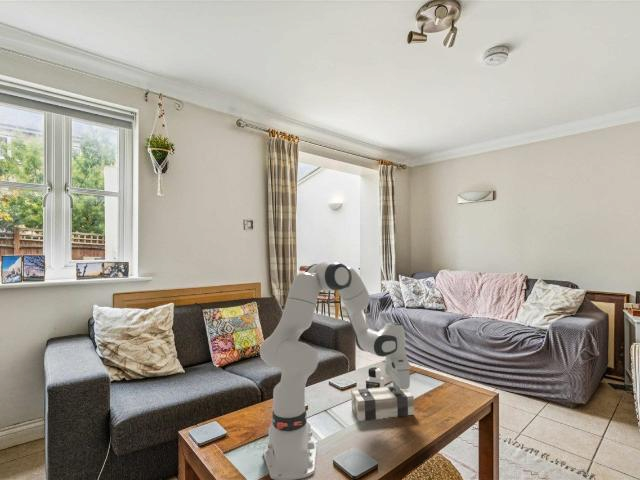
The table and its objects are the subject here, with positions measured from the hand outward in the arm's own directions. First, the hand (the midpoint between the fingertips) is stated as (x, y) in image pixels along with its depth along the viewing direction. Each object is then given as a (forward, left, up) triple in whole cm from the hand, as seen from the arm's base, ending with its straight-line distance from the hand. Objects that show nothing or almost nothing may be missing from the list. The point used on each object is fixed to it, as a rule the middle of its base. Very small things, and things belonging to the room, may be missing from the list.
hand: (397, 391), depth 149 cm
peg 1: (0, +14, -7) cm, 16 cm away
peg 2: (0, 0, -7) cm, 7 cm away
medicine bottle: (+19, +4, -8) cm, 21 cm away
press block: (0, +7, -8) cm, 11 cm away
